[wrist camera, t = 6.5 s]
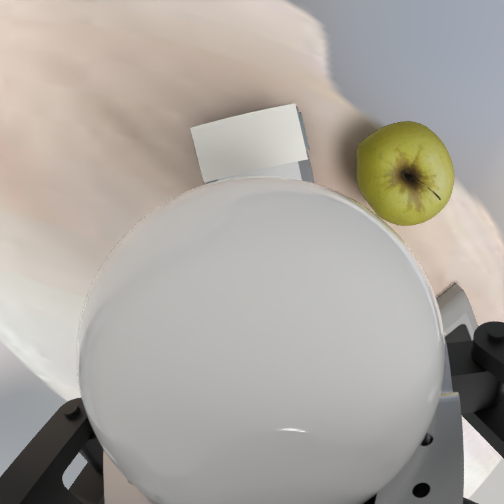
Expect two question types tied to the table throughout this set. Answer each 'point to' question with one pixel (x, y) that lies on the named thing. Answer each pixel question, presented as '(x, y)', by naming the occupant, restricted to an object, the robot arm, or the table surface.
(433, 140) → the apple
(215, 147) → the block
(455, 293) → the grey flat block
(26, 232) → the table surface
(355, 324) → the lightbulb
